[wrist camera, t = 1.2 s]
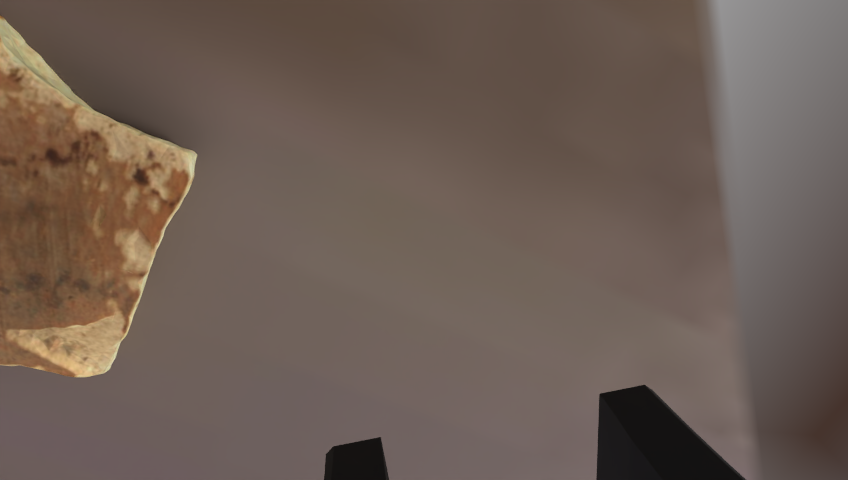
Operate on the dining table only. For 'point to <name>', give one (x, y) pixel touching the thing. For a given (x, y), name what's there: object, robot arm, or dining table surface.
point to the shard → (74, 218)
